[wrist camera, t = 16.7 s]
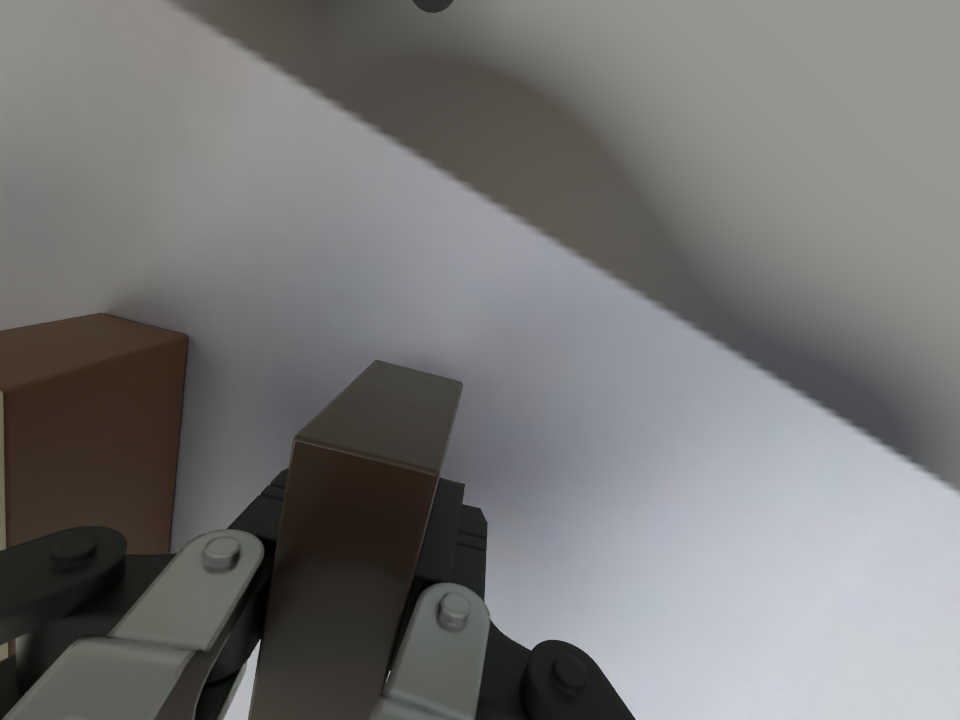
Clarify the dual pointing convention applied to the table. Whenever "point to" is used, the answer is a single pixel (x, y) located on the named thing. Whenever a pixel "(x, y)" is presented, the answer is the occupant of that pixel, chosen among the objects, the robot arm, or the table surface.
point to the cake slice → (89, 430)
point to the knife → (351, 543)
